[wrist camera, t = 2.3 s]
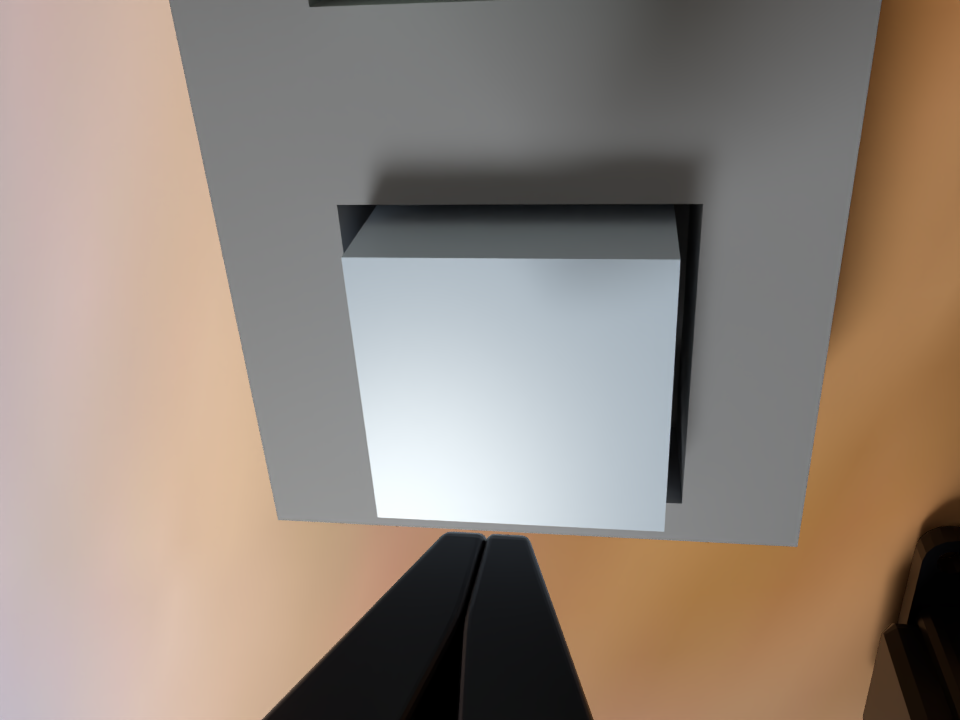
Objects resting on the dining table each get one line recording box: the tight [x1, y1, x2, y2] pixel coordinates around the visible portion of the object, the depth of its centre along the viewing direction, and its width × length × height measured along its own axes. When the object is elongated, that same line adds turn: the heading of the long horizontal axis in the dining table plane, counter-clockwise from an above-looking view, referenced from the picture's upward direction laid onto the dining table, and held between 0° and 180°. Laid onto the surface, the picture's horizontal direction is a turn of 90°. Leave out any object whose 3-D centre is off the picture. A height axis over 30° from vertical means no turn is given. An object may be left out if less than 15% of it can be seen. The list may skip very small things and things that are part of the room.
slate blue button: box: [341, 204, 680, 532], centre depth 12 cm, size 4×4×2 cm
